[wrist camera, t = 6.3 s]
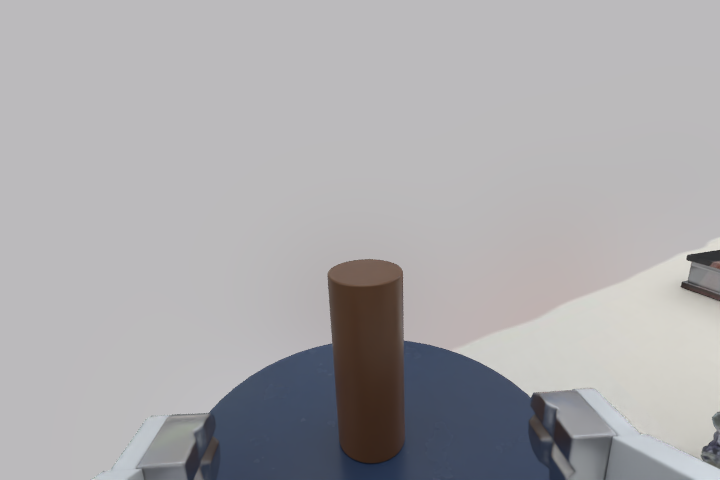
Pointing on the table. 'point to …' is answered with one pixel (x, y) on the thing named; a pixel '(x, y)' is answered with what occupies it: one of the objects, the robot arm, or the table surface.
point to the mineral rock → (713, 445)
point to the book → (704, 274)
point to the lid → (375, 403)
